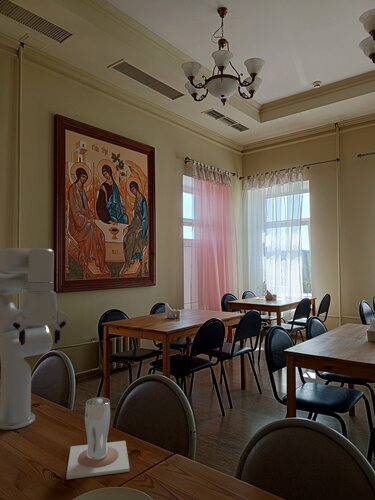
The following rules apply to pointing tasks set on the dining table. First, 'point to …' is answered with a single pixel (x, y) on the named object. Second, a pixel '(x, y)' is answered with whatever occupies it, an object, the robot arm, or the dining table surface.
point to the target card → (109, 465)
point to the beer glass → (97, 427)
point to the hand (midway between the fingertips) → (39, 343)
